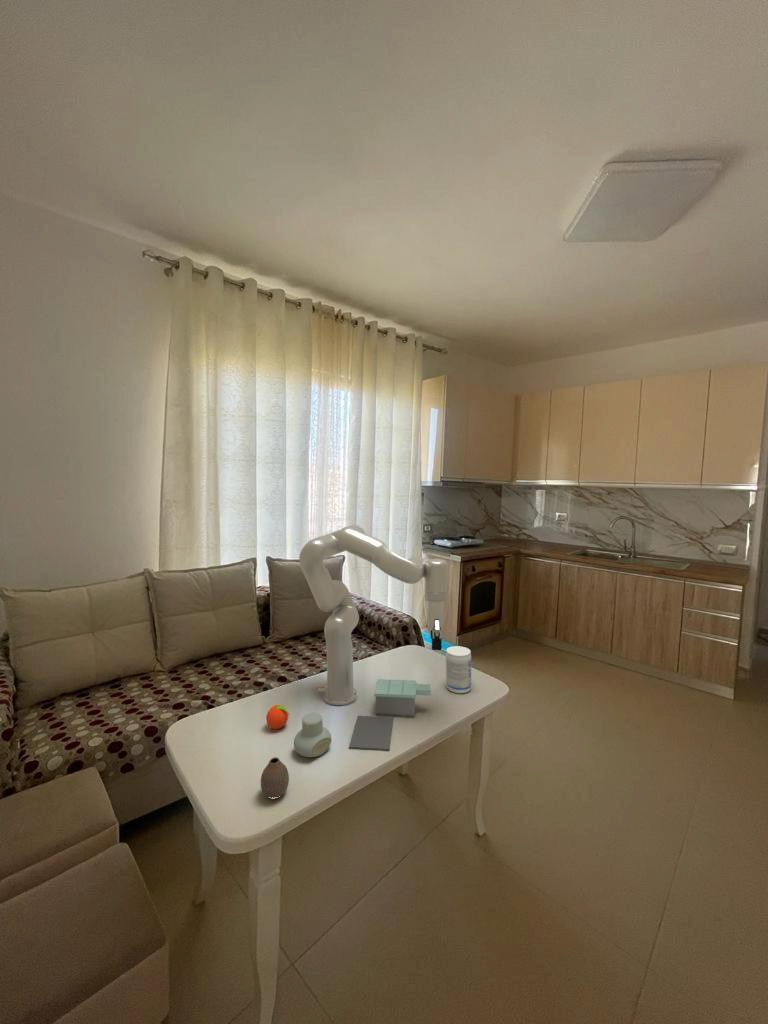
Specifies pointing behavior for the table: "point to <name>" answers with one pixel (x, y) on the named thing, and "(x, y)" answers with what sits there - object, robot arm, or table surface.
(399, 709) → the tub
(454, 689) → the supplement tub
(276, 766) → the vase
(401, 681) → the lid
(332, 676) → the robot arm
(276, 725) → the clementine
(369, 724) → the mat
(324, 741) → the air freshener
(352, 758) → the table surface
